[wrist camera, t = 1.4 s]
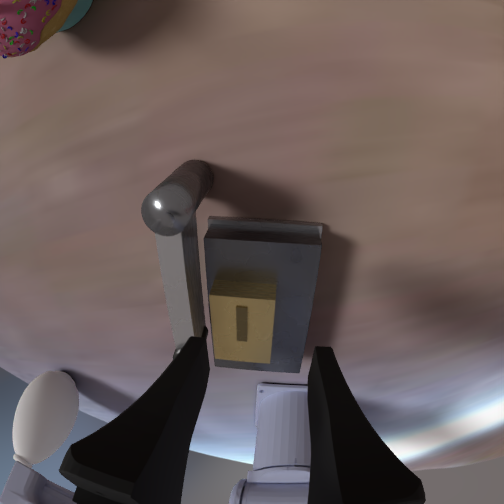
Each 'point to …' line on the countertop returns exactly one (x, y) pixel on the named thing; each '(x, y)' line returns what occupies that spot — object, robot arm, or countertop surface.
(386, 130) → the countertop surface
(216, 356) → the yellow slotted box
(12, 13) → the cupcake
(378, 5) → the countertop surface
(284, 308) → the grey rectangular plate
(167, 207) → the lever
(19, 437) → the sauce bottle
